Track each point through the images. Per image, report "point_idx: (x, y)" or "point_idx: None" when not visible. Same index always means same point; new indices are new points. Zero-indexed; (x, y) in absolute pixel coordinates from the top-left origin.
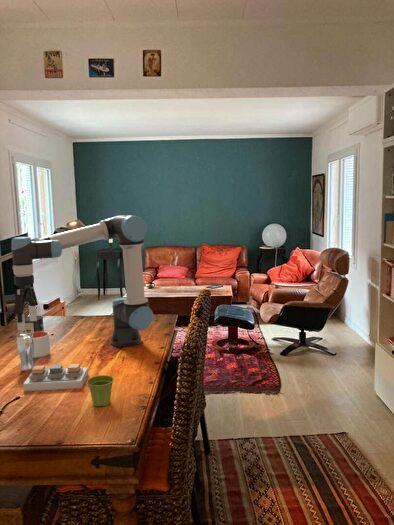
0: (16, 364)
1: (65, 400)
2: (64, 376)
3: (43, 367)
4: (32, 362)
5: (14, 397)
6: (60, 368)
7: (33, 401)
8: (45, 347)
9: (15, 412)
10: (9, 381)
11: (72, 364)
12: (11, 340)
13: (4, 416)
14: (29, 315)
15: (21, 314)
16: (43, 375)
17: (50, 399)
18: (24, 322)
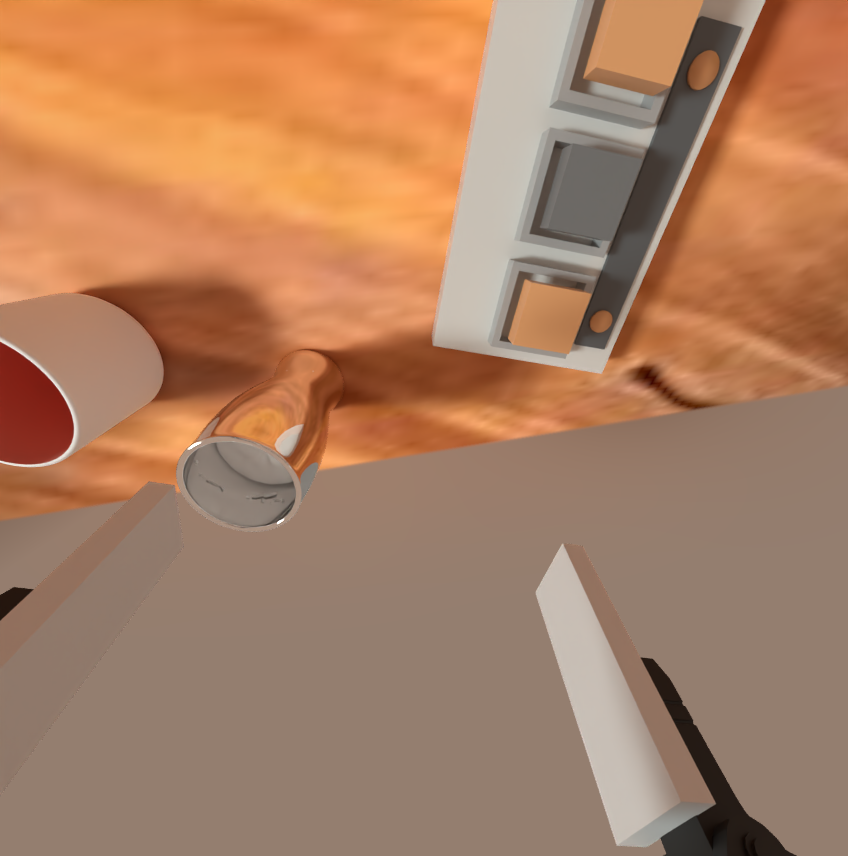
0: None
1: (833, 128)
2: (619, 138)
3: (560, 287)
4: (313, 369)
5: (631, 388)
6: (624, 157)
7: (725, 304)
8: (90, 322)
9: (782, 362)
10: (450, 432)
11: (617, 36)
12: None
13: (786, 395)
14: (133, 614)
15: (744, 825)
16: (592, 280)
17: (759, 222)
18: (609, 627)
